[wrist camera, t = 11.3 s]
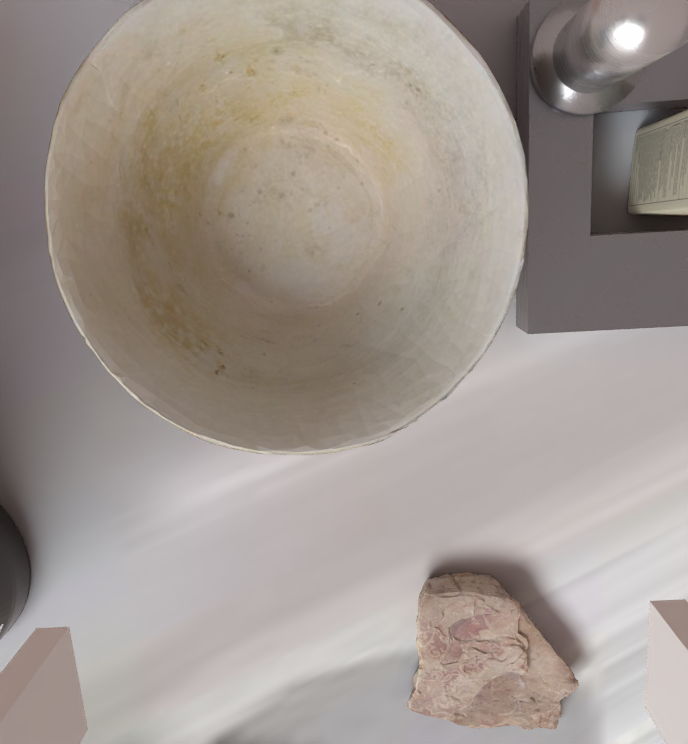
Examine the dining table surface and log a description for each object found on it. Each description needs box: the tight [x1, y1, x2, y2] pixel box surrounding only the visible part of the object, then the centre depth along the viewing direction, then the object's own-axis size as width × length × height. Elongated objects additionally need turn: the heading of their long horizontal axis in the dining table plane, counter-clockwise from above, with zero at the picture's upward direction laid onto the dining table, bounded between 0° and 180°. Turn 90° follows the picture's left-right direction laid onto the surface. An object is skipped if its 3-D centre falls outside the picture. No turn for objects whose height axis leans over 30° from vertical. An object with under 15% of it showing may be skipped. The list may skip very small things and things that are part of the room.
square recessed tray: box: [516, 0, 688, 334], centre depth 37 cm, size 18×18×3 cm
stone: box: [407, 572, 578, 730], centre depth 46 cm, size 12×12×3 cm
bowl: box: [44, 0, 529, 455], centre depth 35 cm, size 24×24×10 cm
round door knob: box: [529, 0, 688, 116], centre depth 32 cm, size 6×6×12 cm
